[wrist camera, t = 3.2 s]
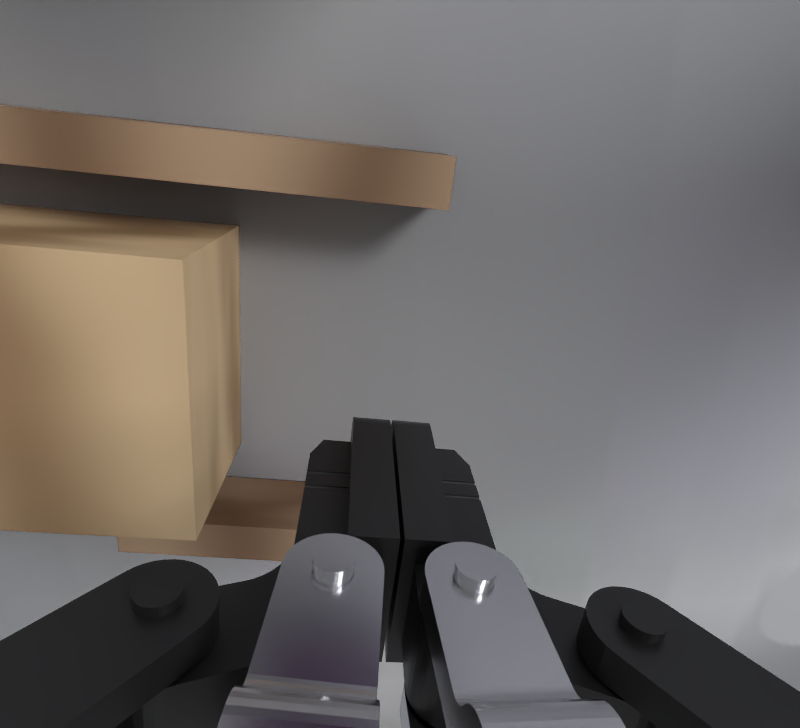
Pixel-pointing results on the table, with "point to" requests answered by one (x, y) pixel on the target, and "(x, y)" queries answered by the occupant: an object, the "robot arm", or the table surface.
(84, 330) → the block
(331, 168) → the channel
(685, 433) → the table surface
